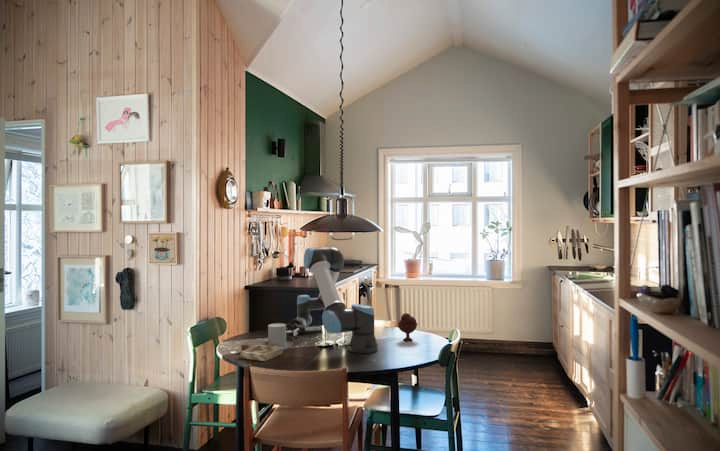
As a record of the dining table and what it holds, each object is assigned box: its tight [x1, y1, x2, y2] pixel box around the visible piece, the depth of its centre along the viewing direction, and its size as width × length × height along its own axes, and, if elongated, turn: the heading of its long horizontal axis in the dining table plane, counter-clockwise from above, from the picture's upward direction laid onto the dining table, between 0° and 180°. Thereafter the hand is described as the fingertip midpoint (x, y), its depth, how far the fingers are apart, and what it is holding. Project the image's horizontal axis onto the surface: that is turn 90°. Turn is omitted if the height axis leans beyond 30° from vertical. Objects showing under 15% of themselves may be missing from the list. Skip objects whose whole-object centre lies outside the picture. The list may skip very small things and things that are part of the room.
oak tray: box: [239, 344, 284, 362], centre depth 243 cm, size 15×15×3 cm
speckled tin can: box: [267, 322, 287, 351], centre depth 257 cm, size 10×10×12 cm
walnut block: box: [240, 342, 252, 352], centre depth 251 cm, size 4×4×4 cm
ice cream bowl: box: [397, 312, 418, 343], centre depth 270 cm, size 11×11×15 cm
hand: (282, 332), depth 265 cm, fingers open, 13 cm apart
